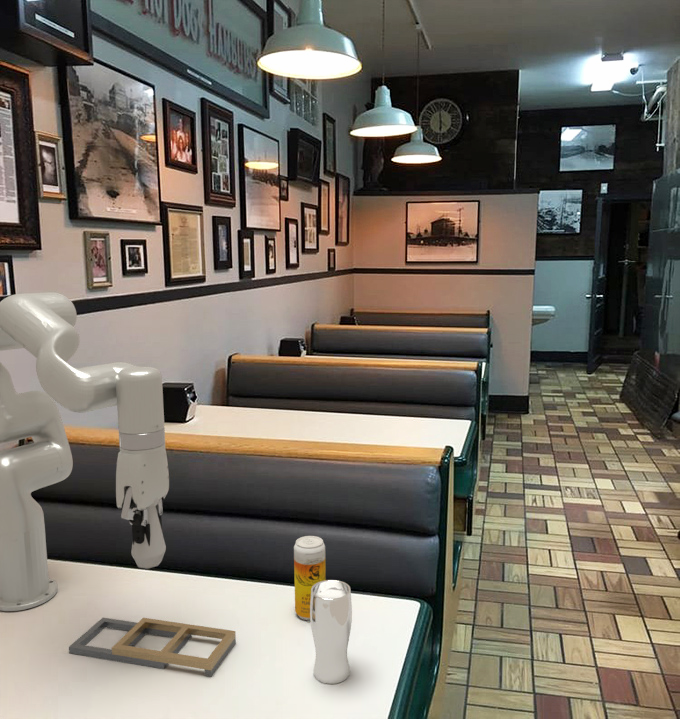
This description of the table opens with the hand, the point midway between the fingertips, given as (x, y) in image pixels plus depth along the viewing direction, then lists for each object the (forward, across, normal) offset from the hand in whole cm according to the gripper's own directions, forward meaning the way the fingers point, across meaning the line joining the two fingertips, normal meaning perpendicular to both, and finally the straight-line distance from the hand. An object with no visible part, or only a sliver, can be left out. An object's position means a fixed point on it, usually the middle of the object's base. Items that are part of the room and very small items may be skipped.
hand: (147, 540), depth 113 cm
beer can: (+21, -18, +24) cm, 36 cm away
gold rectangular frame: (+20, 0, +4) cm, 21 cm away
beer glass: (+21, -1, +33) cm, 39 cm away
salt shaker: (+4, 0, 0) cm, 4 cm away
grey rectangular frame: (+20, 0, -4) cm, 21 cm away
